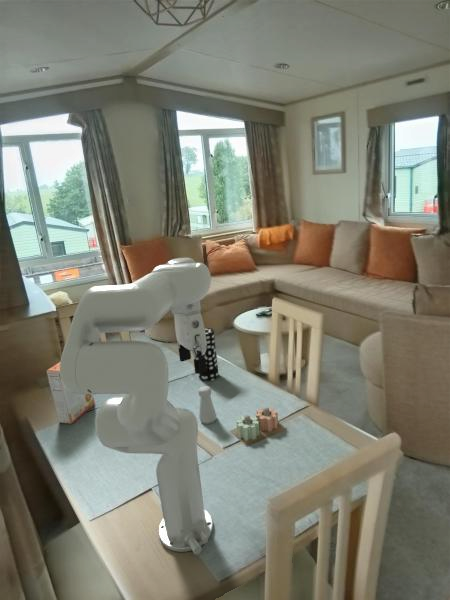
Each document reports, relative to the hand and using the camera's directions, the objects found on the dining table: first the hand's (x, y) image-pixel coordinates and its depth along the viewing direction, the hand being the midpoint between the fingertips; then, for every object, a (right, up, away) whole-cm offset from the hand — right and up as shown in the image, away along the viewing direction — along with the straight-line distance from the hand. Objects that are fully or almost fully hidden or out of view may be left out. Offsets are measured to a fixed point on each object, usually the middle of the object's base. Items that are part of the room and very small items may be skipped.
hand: (193, 365), depth 113 cm
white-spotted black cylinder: (+2, -14, +59) cm, 61 cm away
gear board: (+19, -24, +19) cm, 36 cm away
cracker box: (-46, -24, +40) cm, 66 cm away
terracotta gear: (+22, -22, +20) cm, 37 cm away
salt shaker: (+3, -24, +27) cm, 36 cm away
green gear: (+16, -24, +16) cm, 33 cm away
